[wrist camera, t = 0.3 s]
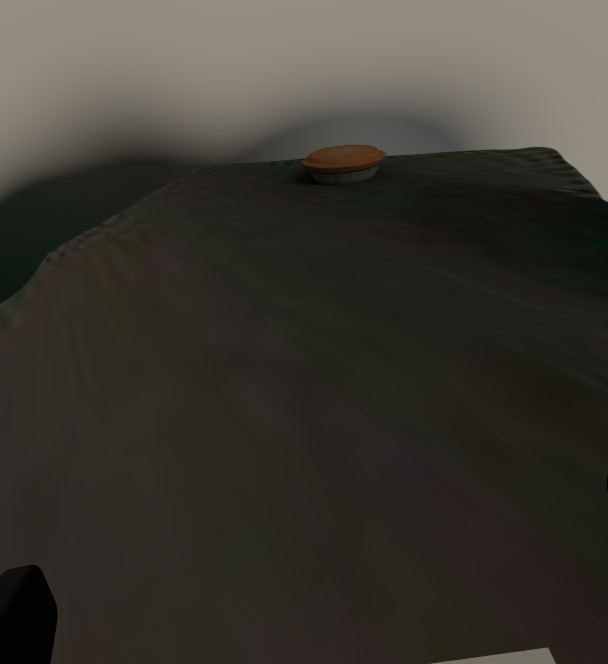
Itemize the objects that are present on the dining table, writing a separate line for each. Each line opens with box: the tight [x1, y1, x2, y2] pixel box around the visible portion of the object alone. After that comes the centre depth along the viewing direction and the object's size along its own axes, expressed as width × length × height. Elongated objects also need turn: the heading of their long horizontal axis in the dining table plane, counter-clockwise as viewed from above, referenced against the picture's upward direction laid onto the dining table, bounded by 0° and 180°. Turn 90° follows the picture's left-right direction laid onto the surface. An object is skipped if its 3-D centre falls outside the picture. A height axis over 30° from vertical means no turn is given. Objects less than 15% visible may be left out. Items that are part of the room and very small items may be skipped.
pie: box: [302, 145, 386, 184], centre depth 95 cm, size 15×16×5 cm
